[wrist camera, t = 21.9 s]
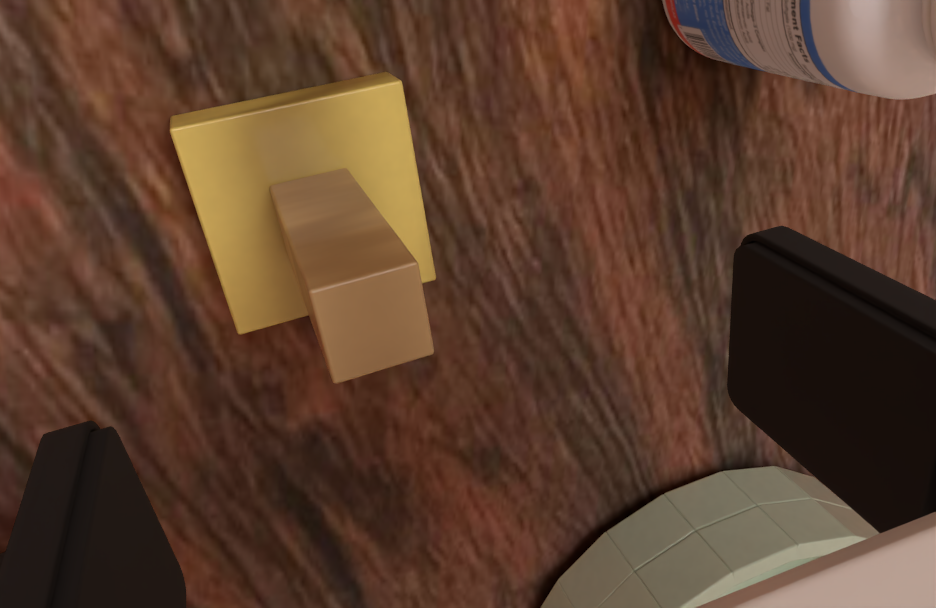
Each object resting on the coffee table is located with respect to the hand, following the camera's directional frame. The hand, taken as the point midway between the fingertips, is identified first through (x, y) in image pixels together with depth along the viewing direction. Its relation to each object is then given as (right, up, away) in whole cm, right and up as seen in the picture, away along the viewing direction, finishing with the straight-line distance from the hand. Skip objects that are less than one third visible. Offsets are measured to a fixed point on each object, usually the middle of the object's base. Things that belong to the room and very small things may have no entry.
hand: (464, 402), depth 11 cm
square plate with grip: (-4, +4, +9) cm, 11 cm away
